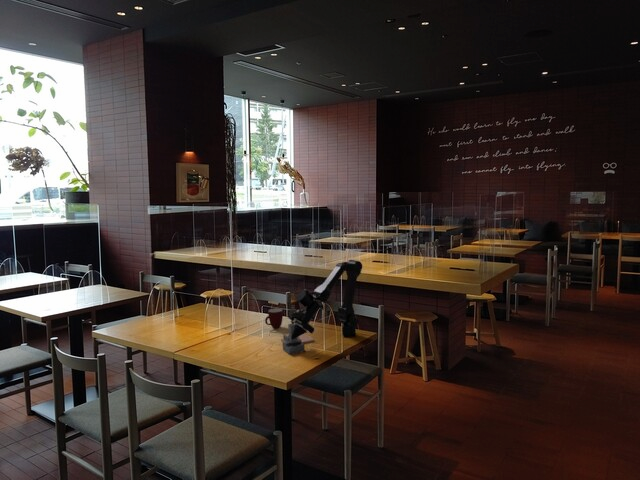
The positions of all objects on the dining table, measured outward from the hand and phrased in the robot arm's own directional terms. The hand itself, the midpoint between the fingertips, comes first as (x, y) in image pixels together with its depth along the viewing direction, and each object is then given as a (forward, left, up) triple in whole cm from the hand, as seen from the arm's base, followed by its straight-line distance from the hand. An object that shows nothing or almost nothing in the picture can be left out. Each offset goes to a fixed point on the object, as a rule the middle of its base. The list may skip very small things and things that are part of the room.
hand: (290, 337), depth 231 cm
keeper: (-3, -13, -7) cm, 15 cm away
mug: (+10, -36, -7) cm, 38 cm away
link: (-1, -1, -7) cm, 7 cm away
